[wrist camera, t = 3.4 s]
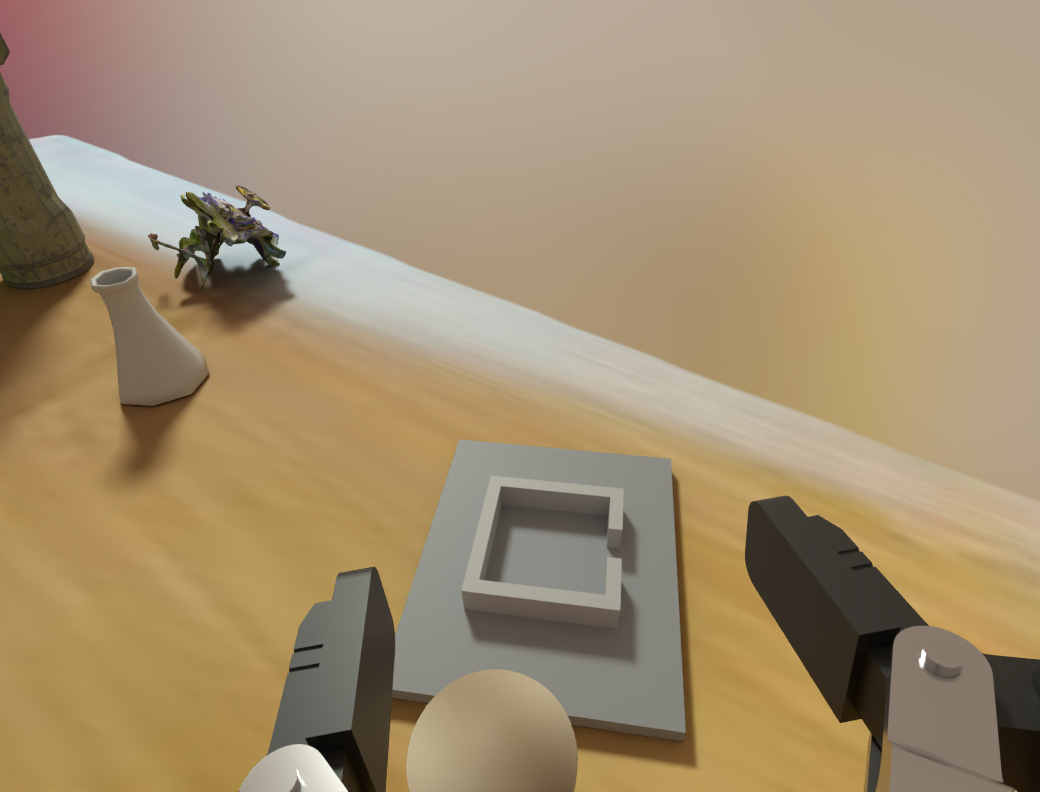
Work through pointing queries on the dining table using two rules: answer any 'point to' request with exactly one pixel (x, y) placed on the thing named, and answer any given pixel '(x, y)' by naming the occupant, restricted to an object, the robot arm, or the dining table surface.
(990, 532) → the dining table surface
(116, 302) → the flask
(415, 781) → the bobbin
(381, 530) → the dining table surface
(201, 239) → the passion flower
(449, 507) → the board
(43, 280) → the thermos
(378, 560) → the dining table surface
